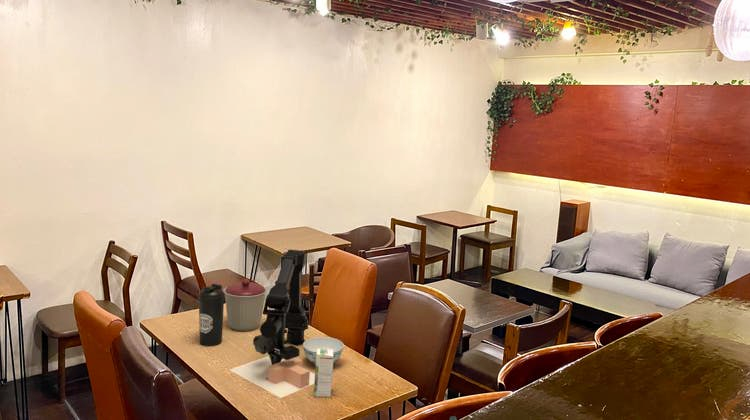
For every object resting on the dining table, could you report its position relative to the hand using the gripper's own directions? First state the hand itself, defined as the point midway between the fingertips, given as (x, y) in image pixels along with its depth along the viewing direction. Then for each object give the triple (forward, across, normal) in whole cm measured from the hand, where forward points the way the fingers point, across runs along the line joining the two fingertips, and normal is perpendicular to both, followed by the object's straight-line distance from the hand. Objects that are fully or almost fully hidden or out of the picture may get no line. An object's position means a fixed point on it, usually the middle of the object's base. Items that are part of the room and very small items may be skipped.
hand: (275, 369), depth 201 cm
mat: (+1, +2, -1) cm, 3 cm away
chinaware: (+2, +6, +17) cm, 19 cm away
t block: (+1, +10, 0) cm, 10 cm away
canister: (+2, -43, +19) cm, 47 cm away
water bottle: (+2, -38, -1) cm, 38 cm away
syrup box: (+2, +22, +2) cm, 22 cm away
